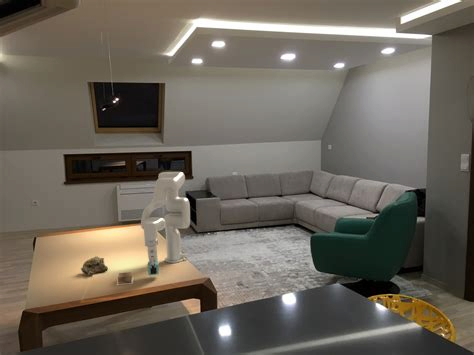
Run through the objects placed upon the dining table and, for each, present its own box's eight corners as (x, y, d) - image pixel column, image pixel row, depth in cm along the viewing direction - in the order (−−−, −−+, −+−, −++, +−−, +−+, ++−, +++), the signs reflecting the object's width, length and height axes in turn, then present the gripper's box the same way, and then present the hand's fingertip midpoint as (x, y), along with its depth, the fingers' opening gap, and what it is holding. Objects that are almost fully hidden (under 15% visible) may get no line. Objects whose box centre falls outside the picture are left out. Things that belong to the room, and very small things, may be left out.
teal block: (158, 270, 235) (158, 260, 234) (159, 274, 229) (158, 264, 228) (148, 271, 234) (147, 262, 233) (148, 275, 228) (147, 265, 227)
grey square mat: (139, 277, 236) (139, 275, 236) (139, 286, 223) (139, 284, 223) (112, 280, 233) (111, 278, 233) (109, 289, 220) (109, 287, 219)
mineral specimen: (85, 279, 237) (83, 263, 236) (79, 273, 247) (78, 258, 246) (109, 273, 245) (108, 258, 244) (102, 268, 256) (101, 253, 254)
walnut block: (131, 278, 232) (131, 271, 231) (131, 282, 225) (130, 276, 225) (119, 279, 231) (118, 273, 230) (118, 284, 224) (117, 277, 223)
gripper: (158, 246, 221) (160, 276, 224) (157, 237, 238) (159, 265, 241) (144, 247, 220) (147, 278, 222) (144, 238, 236) (147, 267, 239)
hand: (153, 271), depth 231 cm, fingers closed on teal block, 6 cm apart
